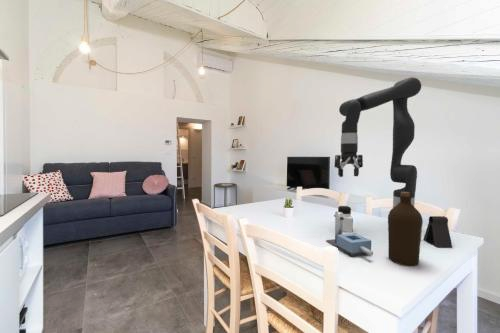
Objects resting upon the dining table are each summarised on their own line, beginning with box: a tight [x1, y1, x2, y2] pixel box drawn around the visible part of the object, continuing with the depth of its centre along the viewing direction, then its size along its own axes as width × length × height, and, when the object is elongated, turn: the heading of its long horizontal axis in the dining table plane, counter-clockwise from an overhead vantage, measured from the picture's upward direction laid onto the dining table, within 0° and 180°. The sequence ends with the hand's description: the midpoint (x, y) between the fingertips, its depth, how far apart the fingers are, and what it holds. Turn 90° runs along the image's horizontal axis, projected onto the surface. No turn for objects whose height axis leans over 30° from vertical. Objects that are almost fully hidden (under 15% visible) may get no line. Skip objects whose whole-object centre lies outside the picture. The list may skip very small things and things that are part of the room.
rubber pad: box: [326, 238, 337, 248], centre depth 106 cm, size 7×7×1 cm
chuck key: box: [333, 211, 344, 243], centre depth 106 cm, size 5×3×13 cm, turn 16°
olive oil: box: [387, 192, 424, 267], centre depth 89 cm, size 11×11×25 cm
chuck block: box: [336, 232, 374, 258], centre depth 95 cm, size 9×14×6 cm, turn 16°
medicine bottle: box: [337, 205, 354, 233], centre depth 126 cm, size 7×7×12 cm
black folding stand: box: [422, 215, 453, 249], centre depth 106 cm, size 9×6×12 cm, turn 177°
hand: (348, 176), depth 119 cm, fingers open, 8 cm apart
